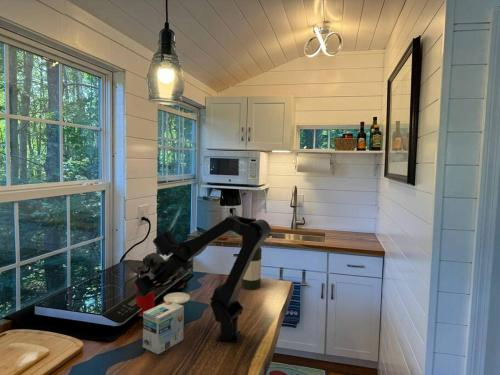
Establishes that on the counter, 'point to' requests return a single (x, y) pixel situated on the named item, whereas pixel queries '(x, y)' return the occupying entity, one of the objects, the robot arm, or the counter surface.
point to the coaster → (177, 298)
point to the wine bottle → (253, 272)
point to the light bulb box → (163, 326)
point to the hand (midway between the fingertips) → (145, 291)
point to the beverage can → (145, 302)
